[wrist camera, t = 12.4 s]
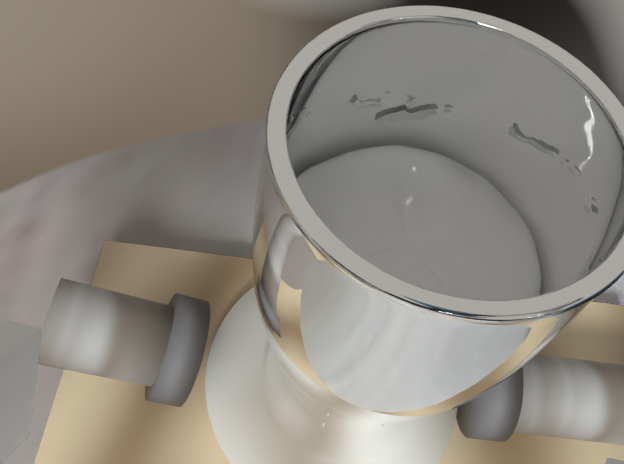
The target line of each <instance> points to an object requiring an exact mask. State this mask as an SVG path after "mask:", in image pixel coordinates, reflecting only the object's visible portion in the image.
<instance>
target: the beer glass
mask: <svg viewBox="0 0 624 464" xmlns="http://www.w3.org/2000/svg"><path fill="white" fill-rule="evenodd" d="M252 262H253V278H254V290H255V297H256V302H257V306H258V310H259V313H260V316H261V320H262V323H263V327H264V330H265V333H266V336H267V339H268V341H269V343H270V347H269V349H268V352H267V355H266V359H265V363H264V369H263V388H264V394H265V399H266V402H267V405H268V408H269V410H270V413H271V415H272V417H273V418H274V420H275V422H276V423H277V425H278V426H279V427H280V429H281V430H282V431H283V432H284V434H285V435H286V436H287V437H288V438H289V439H291V440H292V441H293V442H294V443H295V444H297V445H298V446H300V447H301V448H303V449H304V450H306V451H308V452H310V453H312V454H315V455H317V456H320V457H324V458H328V459H335V460H354V459H360V458H364V457H367V456H370V455H373V454H375V453H377V452H379V451H381V450H382V449H384V448H385V447H387V446H388V445H389V444H391V443H392V442H393V441H394V440H395V439H396V438H397V437H398V436H399V435H400V434H401V433H402V431H403V430H404V429H405V427H406V426H407V424H408V423H409V421H413V420H418V419H422V418H426V417H429V416H432V415H436V414H439V413H442V412H445V411H448V410H451V409H454V408H457V407H459V406H461V405H464V404H466V403H468V402H469V401H471V400H473V399H475V398H476V397H478V396H480V395H481V394H483V393H485V392H487V391H488V390H490V389H492V388H493V387H495V386H497V385H498V384H500V383H501V382H503V381H504V380H506V379H507V378H508V377H510V376H511V375H512V374H514V373H515V372H516V371H517V370H519V369H520V368H521V367H522V366H524V365H525V364H526V363H527V362H529V361H530V360H531V359H532V358H534V357H535V356H536V355H537V354H538V353H539V352H541V351H542V350H543V349H544V348H545V347H546V346H547V345H548V344H549V343H550V342H551V341H552V340H553V339H554V338H555V337H556V336H557V335H558V334H559V333H561V332H562V331H563V330H564V329H565V328H566V327H567V326H568V325H569V324H570V323H571V322H572V321H573V320H574V319H575V318H576V317H577V316H578V315H579V314H580V312H581V311H582V310H583V309H584V308H585V307H586V306H587V305H588V304H589V303H590V302H591V301H592V300H593V299H594V298H596V297H597V296H599V295H600V294H602V293H603V292H604V291H606V290H607V289H608V288H610V287H611V286H612V285H613V284H614V283H615V282H617V281H618V280H619V279H620V278H621V276H622V275H623V274H624V106H623V105H622V104H621V102H620V101H619V100H618V99H617V97H616V96H615V95H614V94H613V92H612V91H611V90H610V89H609V88H608V87H607V86H606V85H605V84H604V82H603V81H602V80H601V79H600V78H599V77H597V75H595V74H594V73H593V72H592V71H591V70H590V69H589V68H588V67H586V66H585V65H584V64H583V63H582V62H580V61H579V60H578V59H576V58H575V57H574V56H573V55H571V54H570V53H568V52H567V51H565V50H564V49H562V48H561V47H559V46H558V45H556V44H554V43H553V42H551V41H549V40H548V39H546V38H544V37H542V36H540V35H538V34H536V33H534V32H532V31H530V30H528V29H526V28H524V27H521V26H519V25H516V24H514V23H511V22H509V21H506V20H503V19H500V18H497V17H494V16H490V15H486V14H483V13H479V12H475V11H470V10H465V9H459V8H452V7H443V6H427V5H417V6H401V7H392V8H386V9H380V10H376V11H371V12H367V13H364V14H361V15H357V16H355V17H352V18H350V19H347V20H345V21H342V22H340V23H338V24H336V25H334V26H332V27H331V28H329V29H327V30H325V31H324V32H322V33H321V34H319V35H318V36H316V37H315V38H314V39H312V40H311V41H310V42H309V43H308V44H307V45H305V46H304V47H303V48H302V49H301V50H300V51H299V52H298V53H297V54H296V55H295V57H294V58H293V59H292V60H291V61H290V63H289V64H288V65H287V67H286V68H285V70H284V71H283V73H282V75H281V76H280V78H279V80H278V82H277V84H276V87H275V89H274V92H273V94H272V97H271V100H270V104H269V108H268V114H267V120H266V143H265V149H264V154H263V160H262V165H261V171H260V177H259V183H258V190H257V197H256V203H255V211H254V225H253V240H252Z"/></svg>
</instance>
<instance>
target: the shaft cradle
mask: <svg viewBox="0 0 624 464" xmlns="http://www.w3.org/2000/svg"><path fill="white" fill-rule="evenodd" d="M269 347H270V343H269V341H268V339H267V336H266V333H265V330H264V327H263V323H262V320H261V316H260V313H259V310H258V306H257V302H256V297H255V290H254V278H253V262H252V259H250V258H242V257H234V256H226V255H218V254H210V253H202V252H194V251H187V250H179V249H171V248H163V247H155V246H147V245H139V244H131V243H123V242H115V241H107V240H105V242H104V245H103V248H102V251H101V255H100V258H99V261H98V264H97V267H96V270H95V273H94V277H93V280H92V283H91V285H87V284H83V283H79V282H75V281H71V280H67V279H63V278H61V280H60V282H59V285H58V287H57V290H56V292H55V295H54V298H53V300H52V303H51V306H50V309H49V312H48V315H47V318H46V321H45V324H44V327H43V330H42V333H41V341H40V350H39V359H38V364H40V365H45V366H50V367H55V368H60V369H64V371H63V374H62V377H61V381H60V384H59V387H58V390H57V393H56V396H55V399H54V403H53V406H52V409H51V412H50V415H49V418H48V422H47V425H46V428H45V431H44V434H43V437H42V440H41V444H40V447H39V450H38V453H37V456H36V459H35V462H34V464H605V462H606V460H607V457H608V458H613V459H617V460H622V461H624V306H623V305H615V304H607V303H599V302H590V303H589V304H588V305H587V306H586V307H585V308H584V309H583V310H582V311H581V312H580V314H579V315H578V316H577V317H576V318H575V319H574V320H573V321H572V322H571V323H570V324H569V325H568V326H567V327H566V328H565V329H564V330H563V331H562V332H561V333H559V334H558V335H557V336H556V337H555V338H554V339H553V340H552V341H551V342H550V343H549V344H548V345H547V346H546V347H545V348H544V349H543V350H542V351H541V352H539V353H538V354H537V355H536V356H535V357H534V358H532V359H531V360H530V361H529V362H527V363H526V364H525V365H524V366H522V367H521V368H520V369H519V370H517V371H516V372H515V373H514V374H512V375H511V376H510V377H508V378H507V379H506V380H504V381H503V382H501V383H500V384H498V385H497V386H495V387H493V388H492V389H490V390H488V391H487V392H485V393H483V394H481V395H480V396H478V397H476V398H475V399H473V400H471V401H469V402H468V403H466V404H464V405H461V406H459V407H457V408H454V409H451V410H448V411H445V412H442V413H439V414H436V415H432V416H429V417H426V418H422V419H418V420H413V421H409V423H408V424H407V426H406V427H405V429H404V430H403V431H402V433H401V434H400V435H399V436H398V437H397V438H396V439H395V440H394V441H393V442H392V443H391V444H389V445H388V446H387V447H385V448H384V449H382V450H381V451H379V452H377V453H375V454H373V455H370V456H367V457H364V458H360V459H354V460H335V459H328V458H324V457H320V456H317V455H315V454H312V453H310V452H308V451H306V450H304V449H303V448H301V447H300V446H298V445H297V444H295V443H294V442H293V441H292V440H291V439H289V438H288V437H287V436H286V435H285V434H284V432H283V431H282V430H281V429H280V427H279V426H278V425H277V423H276V422H275V420H274V418H273V417H272V415H271V413H270V410H269V408H268V405H267V402H266V399H265V394H264V388H263V369H264V363H265V359H266V355H267V352H268V349H269Z"/></svg>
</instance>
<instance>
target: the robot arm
mask: <svg viewBox="0 0 624 464" xmlns="http://www.w3.org/2000/svg"><path fill="white" fill-rule="evenodd" d="M41 332H42V328H39V327H34V326H30V325H26V324H21V323H17V322H13V321H8V322H7V323H5V324H4V325H2V326H0V464H1V463H2V462H3V461H4V460H5V459H6V458H7V457H8V456H9V455H10V454H11V453H12V452H13V451H14V450H15V449H16V448H17V447H18V445H19V444H20V443H21V442H22V441H23V440H24V439H25V438H26V437H27V436H28V435H29V434H30V429H31V421H32V412H33V403H34V394H35V385H36V376H37V368H38V359H39V350H40V341H41ZM605 464H624V461H622V460H617V459H613V458H608V457H607V460H606V462H605Z"/></svg>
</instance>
